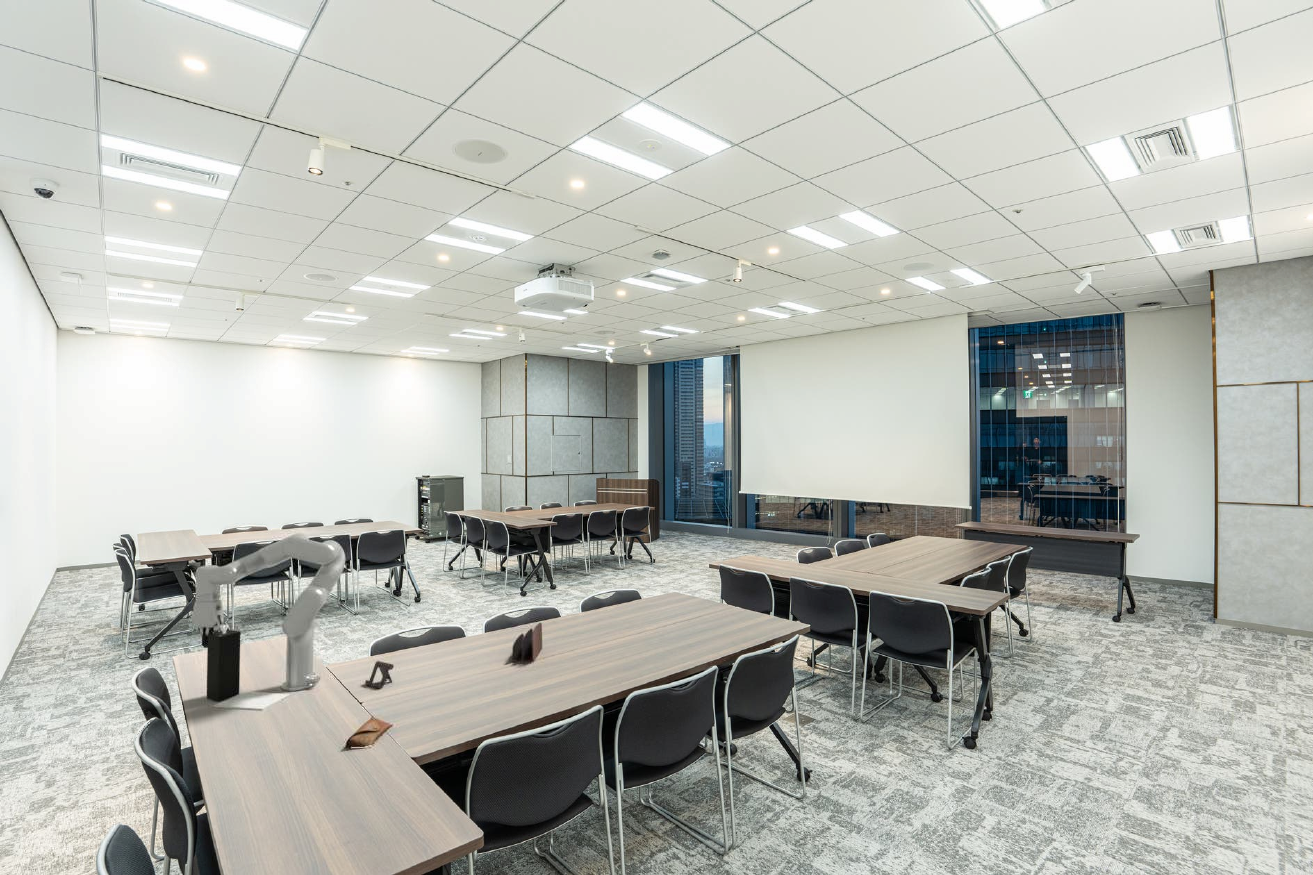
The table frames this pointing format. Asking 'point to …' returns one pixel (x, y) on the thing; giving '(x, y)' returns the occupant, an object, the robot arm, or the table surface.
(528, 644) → the letter holder
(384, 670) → the portable electronic device stand
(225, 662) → the black rectangular box
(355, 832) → the table surface
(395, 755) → the table surface
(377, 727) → the sunglasses case
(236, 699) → the white mat
